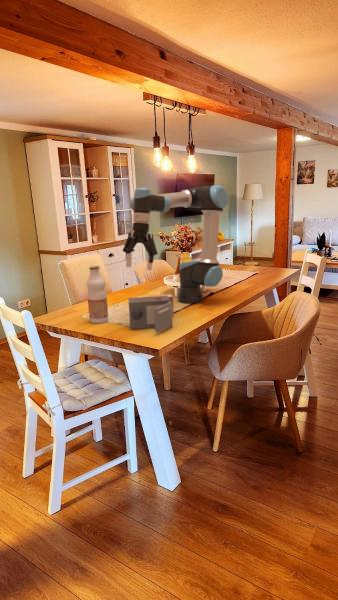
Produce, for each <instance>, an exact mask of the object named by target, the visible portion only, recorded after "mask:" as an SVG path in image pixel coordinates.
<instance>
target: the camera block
mask: <svg viewBox="0 0 338 600" xmlns="http://www.w3.org/2000/svg"><path fill="white" fill-rule="evenodd" d="M169 301H170V300H169V298H168V296H143V297H128V313H129V314H128V315H129V326H130V330H132V331H133V330H142V329H155V313H154V309H155V308H157V307H160V306H162V305H164V304H167V303H168V302H169Z"/></svg>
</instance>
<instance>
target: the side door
mask: <svg viewBox="0 0 338 600" xmlns="http://www.w3.org/2000/svg"><path fill="white" fill-rule="evenodd" d="M154 313H155V328H154V329H155V330H154V331H155V333H156V334H158V333H160V332H162V331H164V330H166V329H167V328H172V327H173V316H172V304H171V301H169V302H168V303H167V304H164V305H162V306H160V307H157V308H155V309H154Z"/></svg>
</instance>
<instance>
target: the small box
mask: <svg viewBox="0 0 338 600" xmlns="http://www.w3.org/2000/svg"><path fill="white" fill-rule="evenodd" d="M156 296H168V298H169V300H170V301H171V304H172V317H174V316H175V315H174V296H173V294H160V295H156Z"/></svg>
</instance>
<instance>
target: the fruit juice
mask: <svg viewBox="0 0 338 600" xmlns="http://www.w3.org/2000/svg"><path fill="white" fill-rule="evenodd" d="M100 269H101V268H100V266H99V265H91V266H89V278H88V280H87V282H86V288H87V290H88V291H87V294H86V295H87V305H88V315H89V316H88V317H89V322H90V323H92V324H101V323H102V324H103V323H106V322H108V321H109V310H108V300H107V299H108V298H107V296H108V295H107V291H106V289H105V288H106V282H105V279H103V277H102V275H101V272H100Z"/></svg>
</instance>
